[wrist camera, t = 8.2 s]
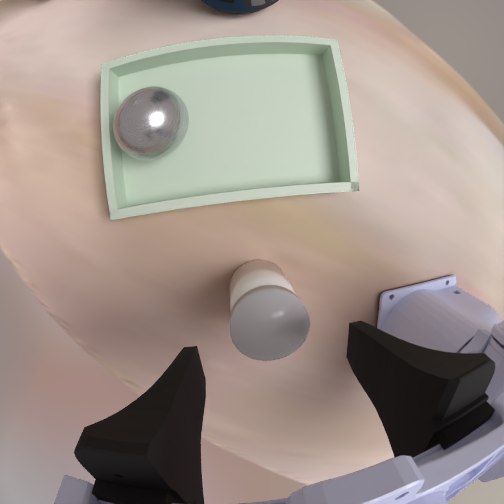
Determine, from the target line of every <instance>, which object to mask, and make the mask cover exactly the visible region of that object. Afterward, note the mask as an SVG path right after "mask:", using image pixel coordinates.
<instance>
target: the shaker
mask: <svg viewBox="0 0 504 504" xmlns="http://www.w3.org/2000/svg"><path fill="white" fill-rule="evenodd" d="M309 326H310V320H309V315H308V312H307V310H306V308H305V307H304V305H303V303H302V302H301V300H300V298H299V297H298V296H297V295H296V293H295V291H294V290H293V288H292V286H291V284H290V283H289V281H288V279H287V278H286V276H285V274H284V273H283V271H282V270H281V268H280V267H278V266H277V265H276V264H274V263H272V262H270V261H267V260H252V261H249V262H247V263H245V264H243V265H241V266H240V267H239V268H238V269H237V270H236V271H235V273H234V274H233V276H232V278H231V282H230V335H231V339H232V341H233V343H234V345H235V346H236V348H237V349H238V350H239V351H240V352H241V353H243V354H244V355H246V356H248V357H250V358H253V359H256V360H262V361H271V360H277V359H280V358H283V357H286V356H288V355H290V354H291V353H293V352H294V351H296V350H297V349H298V348H299V347H300V346H301V345H302V343H303V342H304V341H305V339H306V337H307V334H308V332H309Z"/></svg>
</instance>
